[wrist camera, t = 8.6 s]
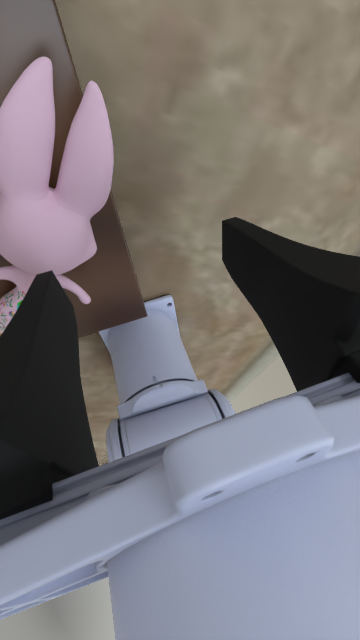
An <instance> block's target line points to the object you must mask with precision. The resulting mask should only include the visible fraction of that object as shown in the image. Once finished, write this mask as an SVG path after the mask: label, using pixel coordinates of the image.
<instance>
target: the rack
mask: <svg viewBox="0 0 360 640" xmlns="http://www.w3.org/2000/svg"><path fill="white" fill-rule="evenodd" d="M39 57H47V58H49V59H50V60H51V62H52V67H53V94H54V105H55V139H54V147H53V156H52V165H51V173H50V179H49V187H50V188H53V189H55V188H56V186H57V180H58V175H59V170H60V166H61V161H62V157H63V152H64V148H65V144H66V140H67V137H68V134H69V130H70V127H71V124H72V121H73V119H74V117H75V114H76V112H77V110H78V108H79V105H80V103H81V100H82V98H83V95H82V91H81V88H80V84H79V81H78V78H77V74H76V71H75V67H74V64H73V61H72V57H71V54H70V51H69V47H68V44H67V40H66V37H65V34H64V30H63V27H62V23H61V20H60V17H59V13H58V10H57V6H56V3H55V0H0V107H1V105H2V103H3V101H4V100H5V98H6V96H7V95H8V93H9V91H10V90H11V88H12V87H13V85H14V84H15V82H16V81H17V80H18V79H19V77H20V76H21V74H22V73H23V72H24V70H25V69H26V68H27V67H28V66H29V65H30V64H31V63H32V62H33V61H34V60H36V59H37V58H39ZM90 224H91V228H92V232H93V235H94V239H95V242H96V246H97V250H96V253H95V254H94V255H93V256H92V257H91V258H90V259H88V260H87V261H85V262H84V263H82V264H80V265H78V266H77V267H75V268H74V269H72V270H70V271H68V272H66V273H63V274H62V275H64V276H66V277H67V278H69V279H70V280H72V281H73V282H75V283H76V284H77V285H79V286H80V287H81V288H82V289H83V290H84V291H85V292H86V293H87V294H88V295H89V296H90V298H91V302H90V303H89V304H84V303H82V302H81V301H80V299H79V297H78V296H77V295H76V294H75V293H73V292H71V291H70V290H67V289H65V288H63V290H64V291H65V293H66V295H67V296H68V298H69V300H70V301H71V303H72V305H73V307H74V312H75V317H76V322H77V328H78V338H80V337H83V336H86V335H90V334H93V333H96V332H99V331H102V330H106V329H109V328H112V327H115V326H118V325H122V324H125V323H128V322H131V321H134V320H138V319H141V318H144V317H147V316H148V315H147V312H146V308H145V305H144V301H143V298H142V295H141V291H140V288H139V284H138V281H137V278H136V274H135V271H134V267H133V264H132V261H131V257H130V254H129V250H128V247H127V244H126V240H125V237H124V234H123V230H122V227H121V223H120V220H119V217H118V213H117V210H116V206H115V203H114V200H113V196H112V193H111V189H110V193H109V196H108V199H107V201H106V203H105V205H104V206H103V207H102V209H101V210H100V211H98V212H97V213H96V214H95V215H93V216H92V217H91V219H90ZM12 265H13V264H11V263H10V262H9V261H7V260H6V259H5V258H4V257H3V256H2V255H1V254H0V267H5V266H12ZM14 288H16V284H15V283H13V282H12V281H9V280H0V299H1V298H2V297H3V296H4V295H5V294H7V293H8V292H10V291H11V290H13V289H14Z"/></svg>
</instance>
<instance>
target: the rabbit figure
mask: <svg viewBox="0 0 360 640" xmlns="http://www.w3.org/2000/svg"><path fill="white" fill-rule="evenodd" d="M54 139H55V105H54V94H53V67H52V62H51V60H50V59H49V58H47V57H39V58H37V59H36V60H34V61H33V62H32V63H31V64H30V65H29V66H28V67H27V68H26V69H25V70H24V72H23V73H22V74H21V76H20V77H19V79H18V80H17V81H16V82H15V84H14V85H13V87H12V88H11V90H10V91H9V93H8V95H7V96H6V98H5V100H4V101H3V103H2V105H1V107H0V254H1V255H2V256H3V257H4V258H5V259H6V260H7V261H9V262H10V263H11V264H13V265H12V266H5V267H0V280H9V281H12V282H13V283H15V284H16V288H14V289H13V290H11V291H10V292H8V293H7V294H5V295H4V296H3V297H2V298H1V299H0V336H1V334H2V333H3V332H4V330H5V328H6V327H7V325H8V324H9V322H10V321H11V319H12V317H13V316H14V314H15V313H16V311H17V309H18V307H19V306H20V304H21V302H22V300H23V298H24V297H25V295H26V293H27V291H28V289H29V287H30V285H31V283H32V282H33V280H34V278H35V276H36V275H37V274H40V273H44V272H47V271H51V270H52V271H53V273H54V274H55V276H56V278H57V279H58V281H59V283H60V285H61V286H62V288H65V289H67V290H70V291H71V292H73V293H75V294H76V295H77V296H78V297H79V299H80V301H81V302H82V303H84V304H89V303H90V302H91V298H90V296H89V295H88V294H87V293H86V292H85V291H84V290H83V289H82V288H81V287H80V286H79V285H77V284H76V283H75V282H73V281H72V280H70V279H69V278H67V277H66V276H64V275H62V274H63V273H66V272H68V271H70V270H72V269H74V268H75V267H77V266H78V265H80V264H82V263H84V262H85V261H87V260H88V259H90V258H91V257H92V256H93V255H94V254H95V253H96V250H97V246H96V242H95V239H94V235H93V232H92V228H91V224H90V219H91V217H92V216H93V215H95V214H96V213H97V212H98V211H100V210H101V209H102V207H103V206H104V205H105V203H106V201H107V199H108V196H109V193H110V189H111V184H112V175H113V166H114V153H113V142H112V135H111V129H110V124H109V119H108V114H107V110H106V106H105V103H104V99H103V96H102V93H101V91H100V89H99V87H98V85H97V84H96V83H95V82H94V81H89V83H88V84H87V86H86V89H85V92H84V95H83V98H82V100H81V103H80V105H79V108H78V110H77V112H76V114H75V117H74V119H73V121H72V124H71V127H70V130H69V134H68V137H67V140H66V144H65V148H64V152H63V157H62V161H61V166H60V170H59V175H58V180H57V186H56V188H55V189H53V188H50V187H49V179H50V173H51V165H52V156H53V147H54Z"/></svg>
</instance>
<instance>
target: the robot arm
mask: <svg viewBox="0 0 360 640" xmlns="http://www.w3.org/2000/svg"><path fill="white" fill-rule="evenodd" d="M222 260H223V262H224V264H225V266H226V268H227V270H228V272H229V274H230V276H231V278H232V279H233V281H234V282H235V284H236V285H237V286H238V288H239V289H240V291H241V292H242V293H243V295H244V296H245V297H246V299H247V300H248V302H249V303H250V304H251V306H252V307H253V308H254V310H255V311H256V313H257V314H258V316H259V317H260V319H261V320H262V322H263V324H264V326H265V327H266V329H267V331H268V333H269V335H270V336H271V338H272V340H273V342H274V344H275V346H276V348H277V350H278V352H279V354H280V356H281V358H282V360H283V362H284V364H285V366H286V368H287V370H288V372H289V374H290V376H291V379H292V381H293V383H294V385H295V387H296V390H297V392H295V393H293V394H290V395H287V396H285V397H281V398H277V399H274V400H272V401H269V402H266V403H264V404H261V405H259V406H256V407H253V408H250V409H248V410H245V411H242V412H240V413H237V414H235V412H234V410H233V408H232V406H231V404H230V402H229V401H228V399H227V398H226V397H225V396H224V395H223V394H222V393H220V392H219V391H217V390H216V389H210V390H207V388H206V386H205V383H204V381H203V380H199V381H198V380H197V378H196V375H195V373H194V370H193V368H192V366H191V363H190V361H189V358H188V356H187V353H186V351H185V349H184V346H183V344H182V341H181V339H180V334H179V329H178V323H177V317H176V312H175V306H174V301H173V298H172V296H171V295H167V296H163V297H160V298H157V299H154V300H150V301H147V302H144V305H145V308H146V312H147V315H148V316H147V317H144V318H141V319H138V320H134V321H131V322H128V323H125V324H122V325H118V326H115V327H112V328H109V329H106V330H102V331H99V334H100V336H101V337H102V339H103V341H104V343H105V345H106V347H107V349H108V351H109V352H110V354H111V359H112V364H113V369H114V375H115V380H116V385H117V390H118V396H119V401H120V405H118V406H117V408H118V414H119V418H117V419H113V420H112V421H111V422H110V425H109V427H108V429H107V431H106V445H107V454H108V460H109V463H106V464H104V465H101V466H98V462H97V458H96V453H95V449H94V445H93V441H92V436H91V431H90V427H89V422H88V417H87V412H86V407H85V402H84V396H83V390H82V385H81V377H80V365H79V345H78V328H77V322H76V317H75V312H74V307H73V305H72V303H71V301H70V300H69V298H68V296H67V295H66V293H65V291H64V290H63V288H62V286H61V285H60V283H59V281H58V279H57V278H56V276H55V274H54V273H53V271H52V270H51V271H47V272H44V273H40V274H37V275H36V276H35V278H34V280H33V282H32V283H31V285H30V287H29V289H28V291H27V293H26V295H25V297H24V298H23V300H22V302H21V304H20V306H19V307H18V309H17V311H16V313H15V314H14V316H13V317H12V319H11V321H10V322H9V324H8V325H7V327H6V328H5V330H4V332H3V333H2V334H1V336H0V620H1V619H3V618H5V617H8V616H11V615H13V614H15V613H18V612H21V611H23V610H26V609H28V608H31V607H33V606H36V605H38V604H41V603H43V602H46V601H48V600H51V599H53V598H56V597H58V596H61V595H64V594H66V593H69V592H71V591H73V590H76V589H79V588H81V587H83V586H86V585H89V584H91V583H94V582H96V581H98V580H101V579H104V578H106V577H109V585H110V594H111V602H112V612H113V620H114V630H115V639H116V640H360V257H358V256H351V255H346V254H341V253H335V252H331V251H326V250H322V249H318V248H315V247H311V246H307V245H304V244H301V243H298V242H295V241H292V240H290V239H287V238H284V237H282V236H279V235H277V234H274V233H272V232H270V231H267V230H265V229H263V228H261V227H258V226H256V225H254V224H252V223H249V222H247V221H245V220H242V219H240V218H237V217H234V218H230V219H227V220H224V221H222ZM168 303H169V304H168ZM119 419H120V420H119Z"/></svg>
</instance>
